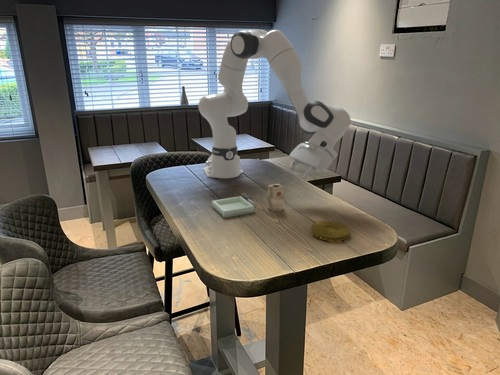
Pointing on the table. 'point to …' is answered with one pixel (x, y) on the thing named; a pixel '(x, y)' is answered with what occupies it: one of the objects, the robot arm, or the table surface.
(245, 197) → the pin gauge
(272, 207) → the bored block
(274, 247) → the table surface
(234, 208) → the tray
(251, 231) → the table surface
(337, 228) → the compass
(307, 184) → the table surface
